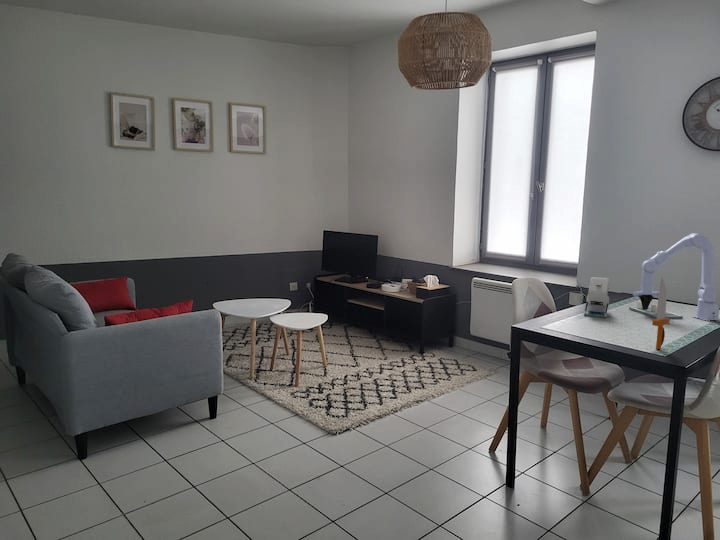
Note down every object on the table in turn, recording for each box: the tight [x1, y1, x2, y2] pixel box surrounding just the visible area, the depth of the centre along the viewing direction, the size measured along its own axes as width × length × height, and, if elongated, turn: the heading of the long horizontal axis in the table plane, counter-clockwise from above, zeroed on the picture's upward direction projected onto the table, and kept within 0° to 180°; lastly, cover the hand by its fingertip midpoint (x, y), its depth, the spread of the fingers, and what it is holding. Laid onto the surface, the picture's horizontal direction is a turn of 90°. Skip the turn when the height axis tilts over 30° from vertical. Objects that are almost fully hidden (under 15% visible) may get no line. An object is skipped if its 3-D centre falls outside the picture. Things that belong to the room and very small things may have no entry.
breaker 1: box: [636, 300, 643, 309], centre depth 298 cm, size 4×2×4 cm
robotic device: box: [583, 276, 610, 319], centre depth 288 cm, size 10×21×20 cm
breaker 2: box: [650, 303, 658, 312], centre depth 291 cm, size 4×2×4 cm
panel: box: [628, 306, 684, 320], centre depth 292 cm, size 23×14×1 cm, turn 9°
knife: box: [651, 277, 670, 350], centre depth 223 cm, size 8×2×30 cm, turn 126°
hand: (645, 309), depth 290 cm, fingers closed
